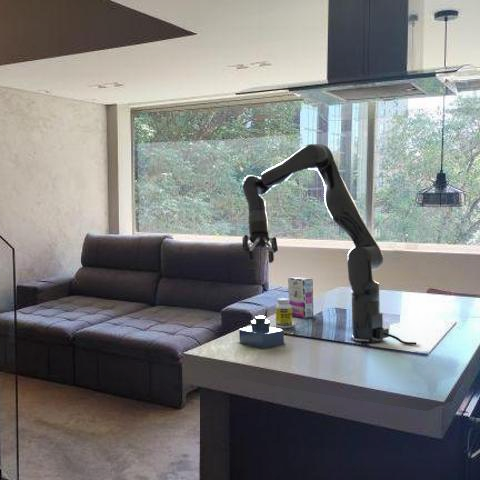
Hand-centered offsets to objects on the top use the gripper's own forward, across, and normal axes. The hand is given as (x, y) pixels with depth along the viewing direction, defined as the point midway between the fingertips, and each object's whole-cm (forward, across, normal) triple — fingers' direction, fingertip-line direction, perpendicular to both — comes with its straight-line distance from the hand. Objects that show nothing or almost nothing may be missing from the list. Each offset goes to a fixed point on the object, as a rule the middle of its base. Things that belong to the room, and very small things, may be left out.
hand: (261, 261), depth 234 cm
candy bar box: (+18, +26, +19) cm, 37 cm away
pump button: (+26, -9, -13) cm, 31 cm away
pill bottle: (+25, +10, +5) cm, 27 cm away
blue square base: (+34, -9, -14) cm, 38 cm away
